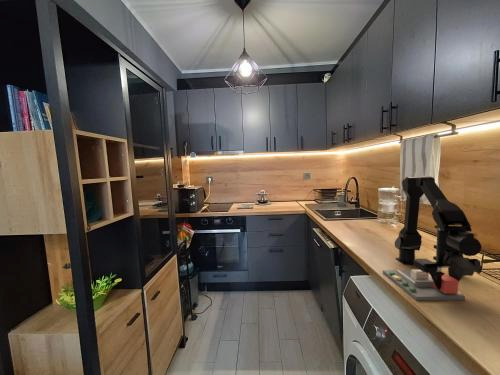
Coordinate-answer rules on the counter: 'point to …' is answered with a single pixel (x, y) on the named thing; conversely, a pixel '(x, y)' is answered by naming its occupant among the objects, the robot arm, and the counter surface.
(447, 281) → the cap
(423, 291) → the breaker panel
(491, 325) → the counter surface
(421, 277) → the panel
